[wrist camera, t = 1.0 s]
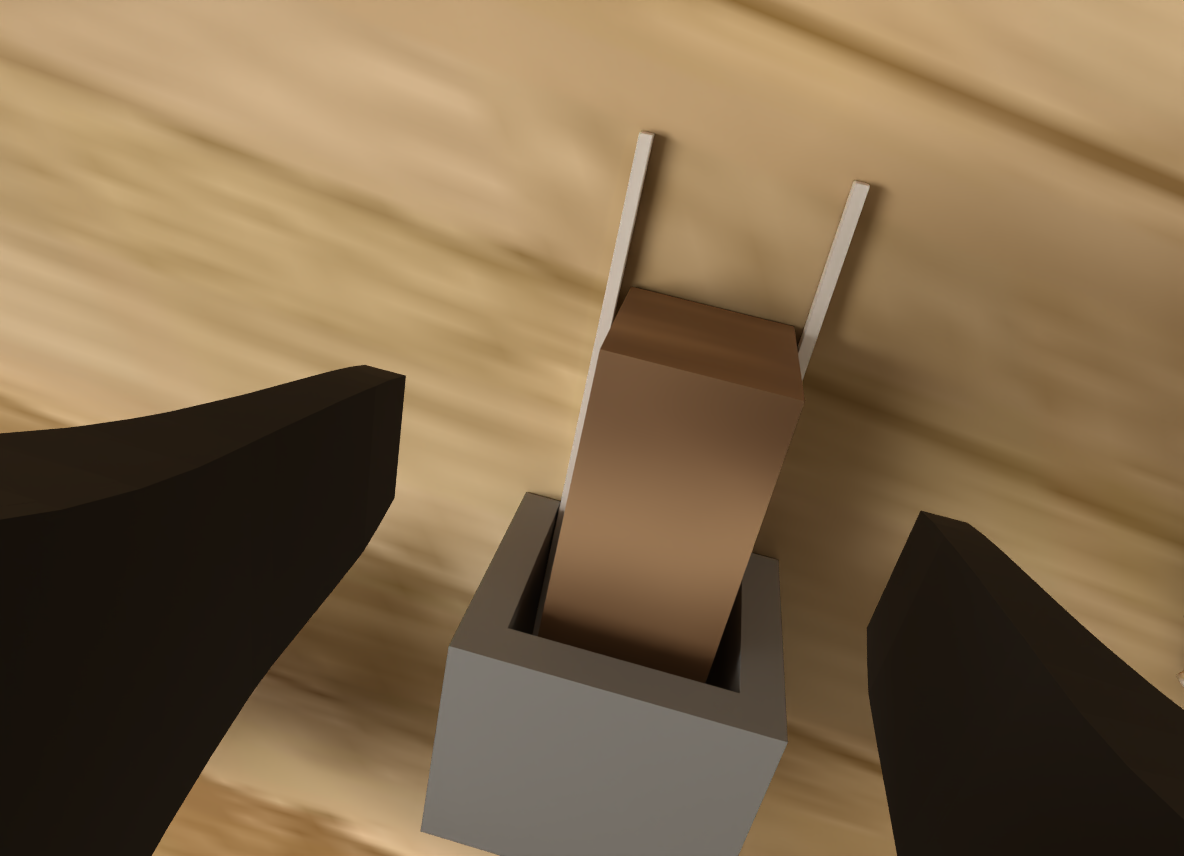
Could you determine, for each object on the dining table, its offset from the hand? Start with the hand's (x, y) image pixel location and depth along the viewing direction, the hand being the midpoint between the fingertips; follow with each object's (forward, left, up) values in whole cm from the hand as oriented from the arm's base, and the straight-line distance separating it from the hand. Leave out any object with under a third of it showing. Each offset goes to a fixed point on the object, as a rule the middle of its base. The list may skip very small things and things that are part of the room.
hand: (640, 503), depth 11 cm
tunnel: (-3, -4, -9) cm, 11 cm away
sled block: (-5, -5, -10) cm, 12 cm away
